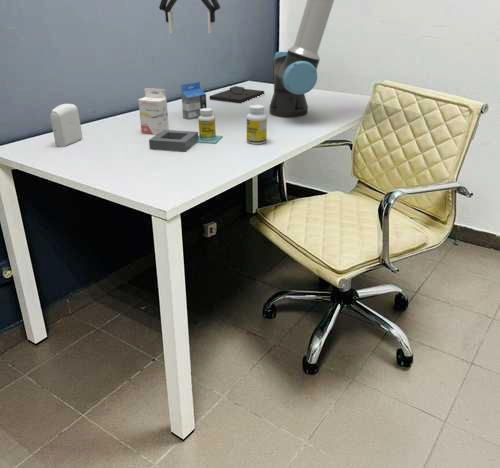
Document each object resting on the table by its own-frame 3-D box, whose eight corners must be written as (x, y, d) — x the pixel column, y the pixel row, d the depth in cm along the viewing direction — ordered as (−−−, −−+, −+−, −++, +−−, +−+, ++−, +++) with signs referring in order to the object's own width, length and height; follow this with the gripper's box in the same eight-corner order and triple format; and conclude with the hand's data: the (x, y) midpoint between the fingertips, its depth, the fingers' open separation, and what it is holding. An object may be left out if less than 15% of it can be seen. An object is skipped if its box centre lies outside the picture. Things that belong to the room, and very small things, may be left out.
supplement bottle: (214, 135, 171) (213, 106, 167) (217, 140, 167) (215, 110, 162) (198, 136, 170) (196, 108, 166) (200, 141, 166) (199, 111, 161)
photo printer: (64, 147, 162) (57, 108, 156) (53, 146, 164) (46, 107, 158) (84, 138, 171) (79, 101, 165) (74, 137, 172) (68, 100, 166)
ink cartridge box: (140, 133, 176) (136, 90, 169) (148, 129, 180) (143, 87, 173) (163, 135, 173) (159, 91, 167) (169, 131, 177) (166, 88, 171)
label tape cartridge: (188, 119, 192) (186, 86, 186) (182, 117, 195) (180, 84, 189) (207, 115, 197) (205, 83, 192) (201, 114, 200) (199, 81, 194)
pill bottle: (243, 140, 167) (243, 105, 162) (261, 138, 170) (262, 103, 164) (251, 145, 162) (251, 109, 157) (269, 143, 164) (270, 107, 159)
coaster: (222, 136, 171) (222, 135, 171) (215, 143, 164) (215, 142, 164) (200, 135, 173) (200, 134, 173) (192, 142, 166) (192, 141, 166)
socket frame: (198, 140, 167) (198, 131, 166) (185, 151, 157) (185, 142, 156) (164, 138, 170) (163, 129, 169) (149, 149, 160) (148, 139, 158)
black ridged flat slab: (235, 92, 239) (209, 100, 223) (235, 86, 238) (209, 94, 222) (264, 95, 232) (240, 104, 216) (264, 89, 230) (239, 98, 214)
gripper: (227, -40, 161) (229, 32, 171) (154, -38, 166) (160, 31, 176) (221, -40, 155) (224, 34, 164) (145, -39, 160) (151, 33, 169)
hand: (191, 33), depth 170 cm, fingers open, 13 cm apart
